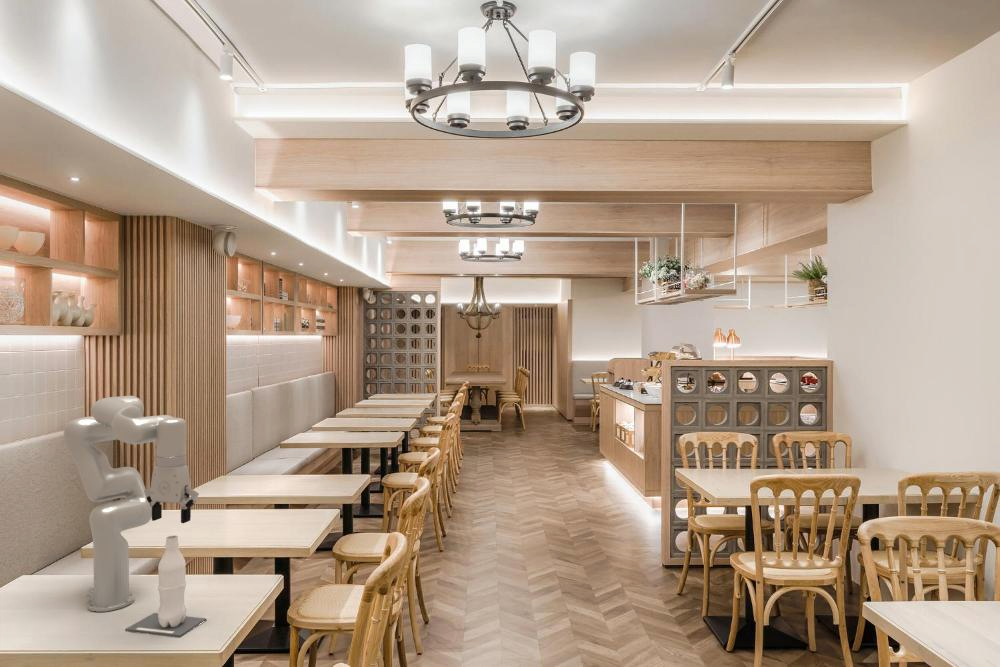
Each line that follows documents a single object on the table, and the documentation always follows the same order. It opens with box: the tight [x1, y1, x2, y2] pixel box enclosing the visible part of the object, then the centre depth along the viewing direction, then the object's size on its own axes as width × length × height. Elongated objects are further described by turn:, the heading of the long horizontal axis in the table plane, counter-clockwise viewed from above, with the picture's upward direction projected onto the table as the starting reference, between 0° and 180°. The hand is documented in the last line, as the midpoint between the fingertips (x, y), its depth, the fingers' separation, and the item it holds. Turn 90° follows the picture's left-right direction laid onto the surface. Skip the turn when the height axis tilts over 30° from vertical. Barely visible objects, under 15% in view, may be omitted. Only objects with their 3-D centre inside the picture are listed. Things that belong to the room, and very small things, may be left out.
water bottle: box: [157, 535, 187, 628], centre depth 189 cm, size 7×7×25 cm
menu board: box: [124, 612, 207, 638], centre depth 189 cm, size 18×11×1 cm, turn 77°
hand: (171, 520), depth 189 cm, fingers open, 9 cm apart
